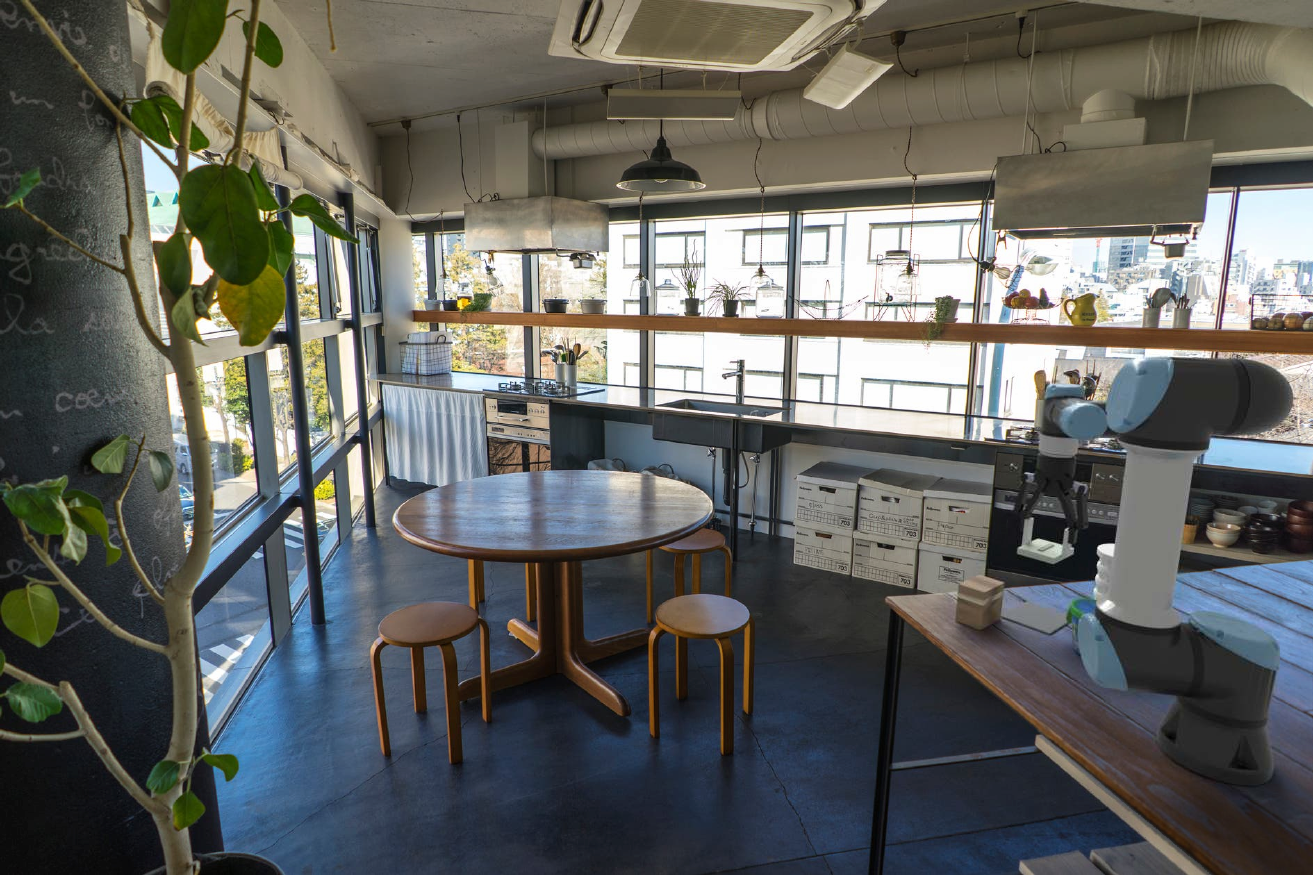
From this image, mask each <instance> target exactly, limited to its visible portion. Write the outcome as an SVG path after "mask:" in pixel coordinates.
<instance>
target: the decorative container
mask: <svg viewBox="0 0 1313 875" xmlns="http://www.w3.org/2000/svg"><path fill="white" fill-rule="evenodd" d="M1114 547H1115V543H1103V544H1100V545H1098V546H1097V549H1096V555H1097V556H1098V557H1099V560H1098V561H1097V564H1096V568H1097V574H1096V576H1095V577H1094V579H1095V587H1094V589H1093V597H1094V598H1093V599H1096V600H1097V599H1099V598H1101V597H1103V596H1104V595H1106V594H1108V592H1109V584H1110V577H1111V569H1112V562H1113V554H1114Z"/></svg>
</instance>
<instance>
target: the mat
mask: <svg viewBox="0 0 1313 875" xmlns="http://www.w3.org/2000/svg"><path fill="white" fill-rule="evenodd" d="M1066 615H1067V613H1065V612H1060V611H1058V610H1055V609H1052V608H1050V607H1046V606H1043V605H1041V604H1037V603H1035V602H1031V601H1028V600H1027V601H1025V602H1023V603H1021V604H1019V605H1017V606H1016V607H1014V608H1012V609H1010V610H1008V611H1007V612H1006V611H1005V613H1002V614H1001V619H1004V620H1007V621H1010V622H1012V623H1015V624H1018V625H1021V626H1023V627H1027V628H1029V629H1033V630H1035V631H1038V632H1040V633H1043V634H1045V635H1046V634H1047V635H1049V636H1050V635H1052V634H1053V633H1055V632H1056V631H1059V630H1060V629H1062V628H1063V627H1065V626H1066V625H1067V624H1069V623H1068V622H1067V620H1066Z"/></svg>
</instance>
